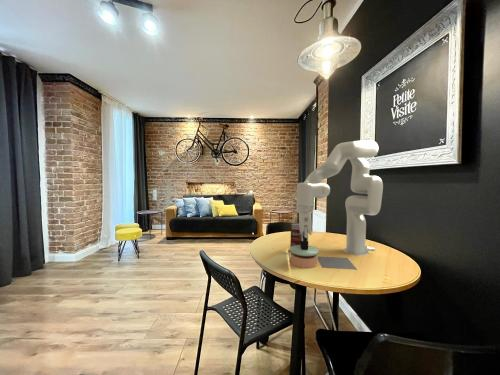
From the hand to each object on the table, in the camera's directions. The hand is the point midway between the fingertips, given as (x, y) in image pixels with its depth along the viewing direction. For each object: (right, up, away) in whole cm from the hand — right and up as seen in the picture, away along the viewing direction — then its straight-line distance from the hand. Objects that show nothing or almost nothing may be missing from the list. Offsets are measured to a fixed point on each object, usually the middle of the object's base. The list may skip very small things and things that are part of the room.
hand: (304, 247), depth 108 cm
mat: (+15, -8, +1) cm, 17 cm away
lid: (0, -2, 0) cm, 2 cm away
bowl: (0, -8, 0) cm, 8 cm away
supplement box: (+1, -8, +17) cm, 19 cm away
